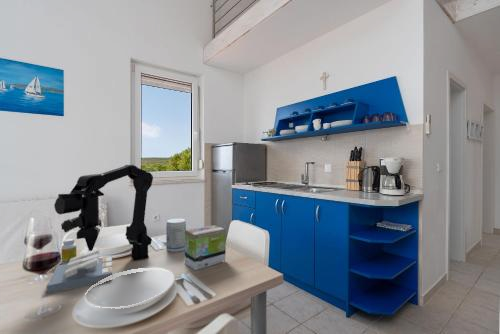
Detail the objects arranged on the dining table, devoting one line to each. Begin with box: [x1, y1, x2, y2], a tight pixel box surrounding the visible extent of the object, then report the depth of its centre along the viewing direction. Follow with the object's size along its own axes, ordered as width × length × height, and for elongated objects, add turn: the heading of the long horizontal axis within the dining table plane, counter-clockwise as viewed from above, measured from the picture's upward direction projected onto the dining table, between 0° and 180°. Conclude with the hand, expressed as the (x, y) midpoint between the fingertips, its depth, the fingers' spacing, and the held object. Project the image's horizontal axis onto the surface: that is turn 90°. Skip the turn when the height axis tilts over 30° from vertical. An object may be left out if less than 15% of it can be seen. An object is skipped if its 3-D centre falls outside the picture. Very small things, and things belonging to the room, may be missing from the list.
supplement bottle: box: [60, 238, 78, 265], centre depth 109 cm, size 5×5×10 cm
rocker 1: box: [70, 248, 101, 262], centre depth 100 cm, size 10×4×2 cm, turn 120°
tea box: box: [184, 224, 227, 271], centre depth 107 cm, size 15×10×15 cm, turn 131°
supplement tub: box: [165, 217, 187, 253], centre depth 124 cm, size 10×10×15 cm
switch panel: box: [46, 256, 113, 294], centre depth 95 cm, size 19×19×6 cm
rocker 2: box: [67, 253, 100, 269], centre depth 95 cm, size 10×4×2 cm, turn 120°
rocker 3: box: [65, 258, 99, 278], centre depth 90 cm, size 10×4×2 cm, turn 120°
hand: (90, 250), depth 92 cm, fingers closed
